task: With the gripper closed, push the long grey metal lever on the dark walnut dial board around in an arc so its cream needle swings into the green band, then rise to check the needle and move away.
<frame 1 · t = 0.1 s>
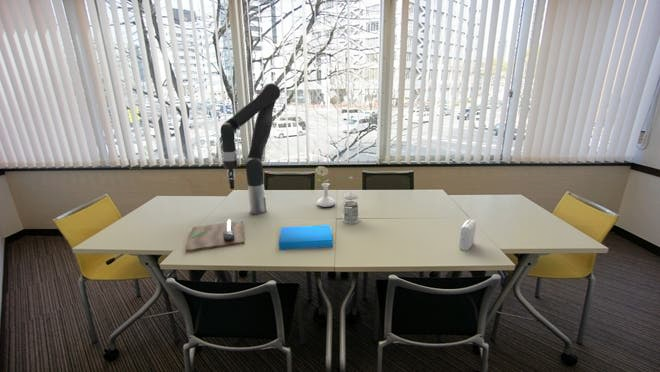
hand: (232, 186, 177), 17 cm above the table, tool pointing down, fingers open, 8 cm apart
dial plate: (217, 236, 156), on the table
photo printer: (466, 246, 142), on the table
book: (306, 241, 151), on the table
tuning lever: (229, 229, 155), point 3 cm above the table, hinge at 0.0°
flower in vase: (325, 205, 194), on the table
french press: (349, 220, 171), on the table
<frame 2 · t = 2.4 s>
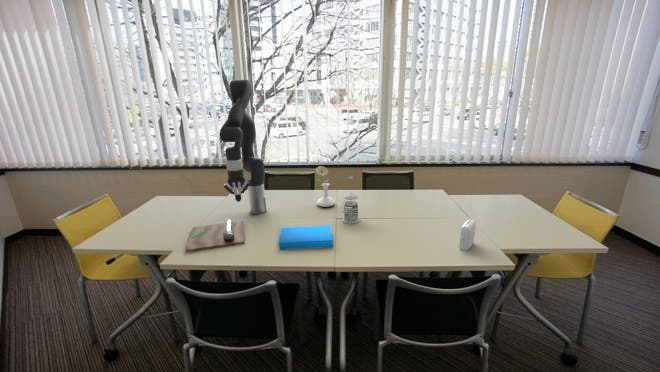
hand: (238, 201, 157), 16 cm above the table, tool pointing down, fingers closed
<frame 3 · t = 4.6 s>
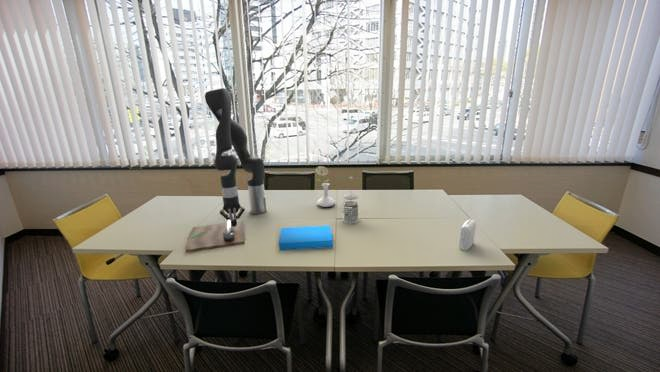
hand: (234, 226, 160), 3 cm above the table, tool pointing down, fingers closed
tuning lever: (229, 229, 155), point 3 cm above the table, hinge at 0.4°, touching gripper
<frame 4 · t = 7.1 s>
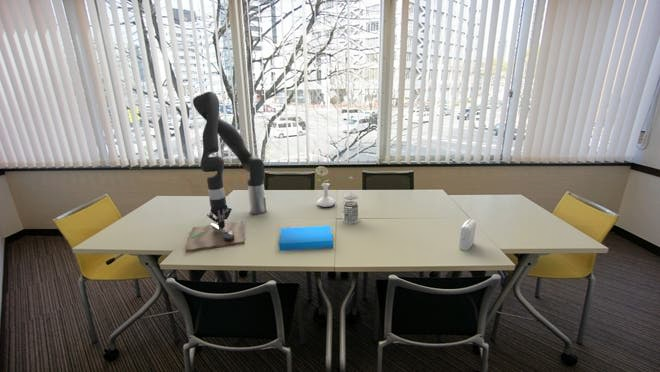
hand: (221, 227, 158), 3 cm above the table, tool pointing down, fingers closed
tuning lever: (221, 231, 153), point 3 cm above the table, hinge at 29.5°, touching gripper
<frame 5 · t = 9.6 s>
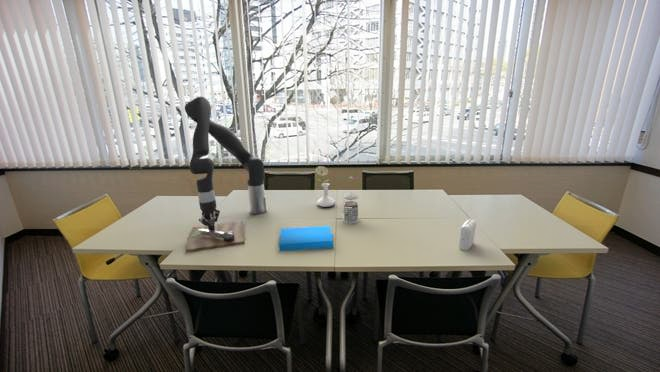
hand: (212, 231, 154), 3 cm above the table, tool pointing down, fingers closed
tuning lever: (215, 234, 151), point 3 cm above the table, hinge at 54.7°, touching gripper
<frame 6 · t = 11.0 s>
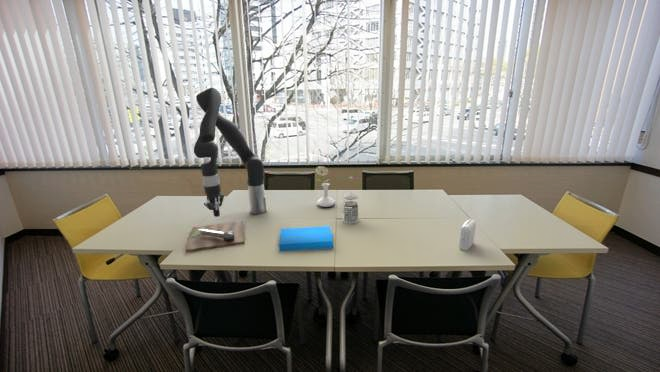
hand: (217, 216, 155), 10 cm above the table, tool pointing down, fingers closed
tuning lever: (215, 234, 151), point 3 cm above the table, hinge at 54.9°
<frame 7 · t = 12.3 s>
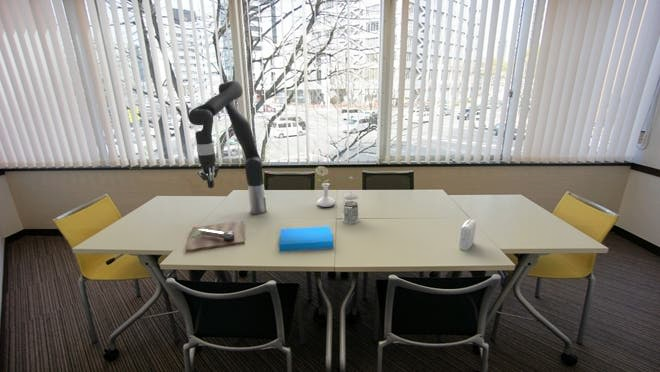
hand: (211, 187, 151), 25 cm above the table, tool pointing down, fingers closed
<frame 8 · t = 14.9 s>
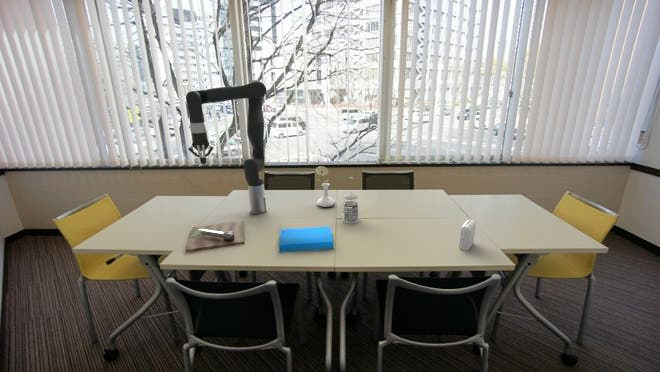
hand: (203, 164, 164), 33 cm above the table, tool pointing down, fingers closed
at the end: tuning lever at +55° (first picture: +0°) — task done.
